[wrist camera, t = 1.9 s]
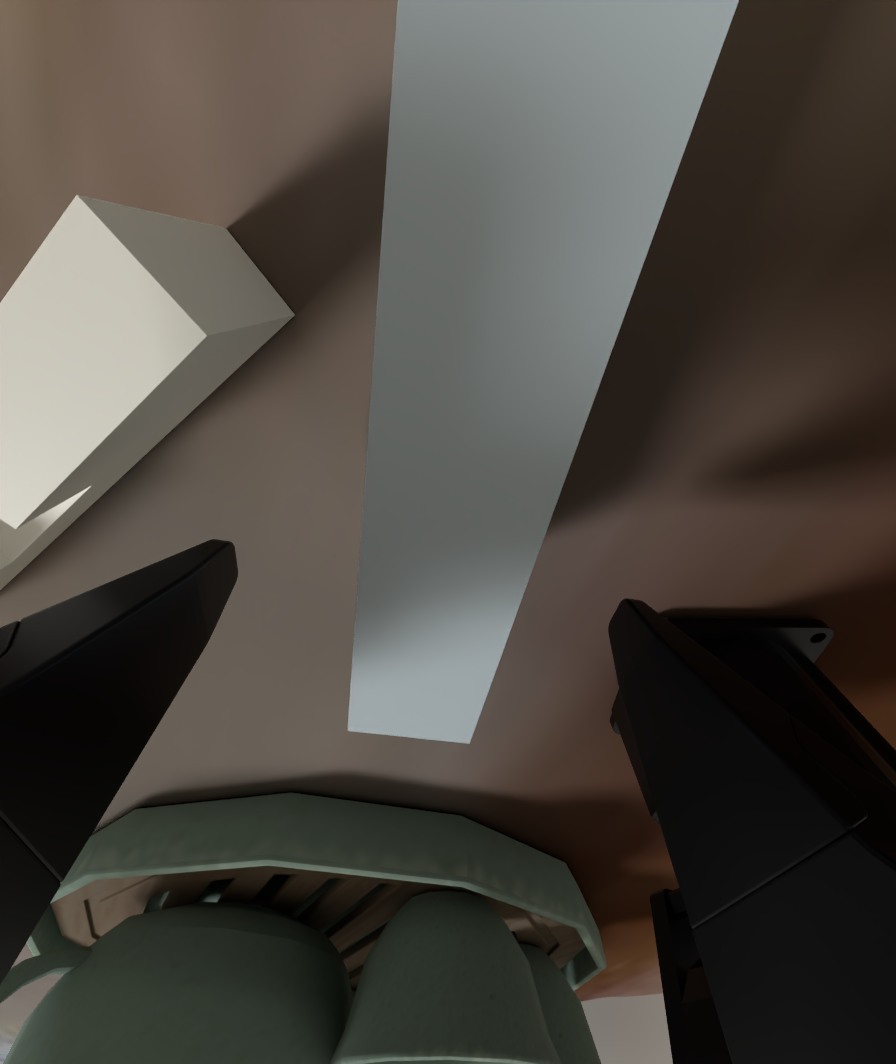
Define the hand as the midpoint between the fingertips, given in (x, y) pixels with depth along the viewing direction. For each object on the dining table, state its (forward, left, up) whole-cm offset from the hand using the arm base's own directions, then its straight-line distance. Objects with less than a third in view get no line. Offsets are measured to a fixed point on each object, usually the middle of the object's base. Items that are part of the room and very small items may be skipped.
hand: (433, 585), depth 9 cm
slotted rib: (+10, -2, -4) cm, 11 cm away
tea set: (+9, +36, -4) cm, 38 cm away
